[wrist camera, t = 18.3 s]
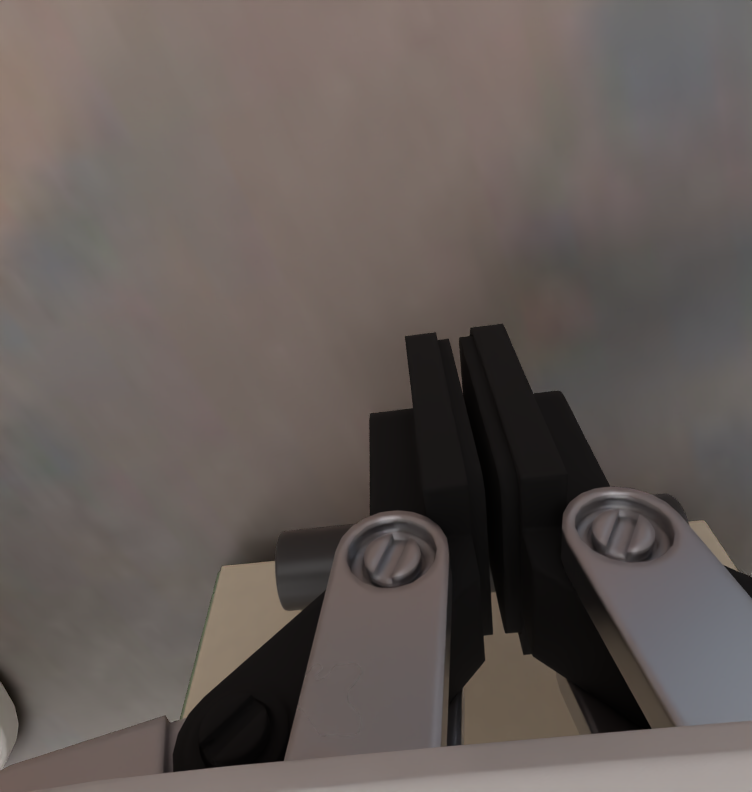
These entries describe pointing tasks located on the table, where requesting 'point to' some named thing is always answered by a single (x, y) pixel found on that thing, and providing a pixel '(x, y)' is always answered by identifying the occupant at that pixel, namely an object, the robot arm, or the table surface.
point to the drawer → (308, 577)
